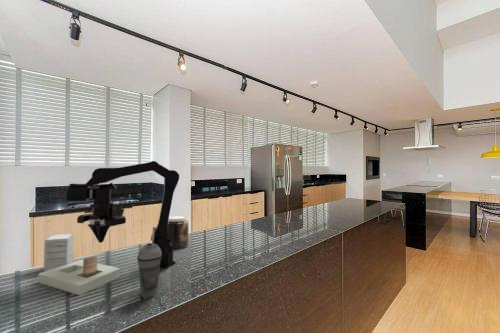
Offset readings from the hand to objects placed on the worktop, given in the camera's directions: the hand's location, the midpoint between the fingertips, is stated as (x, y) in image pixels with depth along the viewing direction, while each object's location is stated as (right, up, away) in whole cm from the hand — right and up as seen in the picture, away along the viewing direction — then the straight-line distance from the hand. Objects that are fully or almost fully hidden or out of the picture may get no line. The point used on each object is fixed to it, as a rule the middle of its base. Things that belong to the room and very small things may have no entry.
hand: (101, 242), depth 87 cm
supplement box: (-20, -12, +4) cm, 23 cm away
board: (-4, -12, -5) cm, 13 cm away
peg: (+1, -12, -7) cm, 14 cm away
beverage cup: (+25, -12, -15) cm, 31 cm away
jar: (+18, -13, +33) cm, 40 cm away
